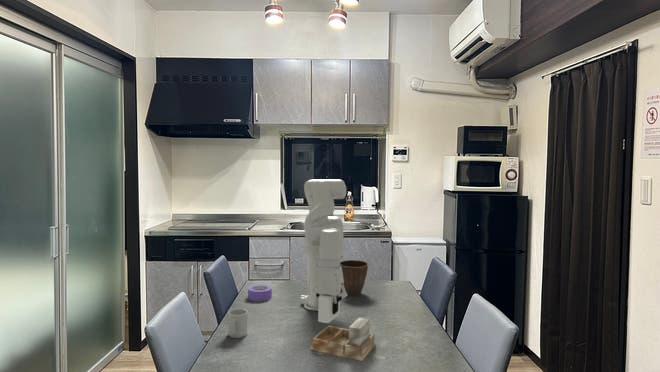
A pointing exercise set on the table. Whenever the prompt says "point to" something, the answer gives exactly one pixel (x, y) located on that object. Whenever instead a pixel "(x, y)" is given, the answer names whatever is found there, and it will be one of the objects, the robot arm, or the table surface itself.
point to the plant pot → (354, 276)
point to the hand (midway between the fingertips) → (329, 311)
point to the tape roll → (259, 292)
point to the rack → (345, 340)
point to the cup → (238, 323)
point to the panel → (326, 309)
